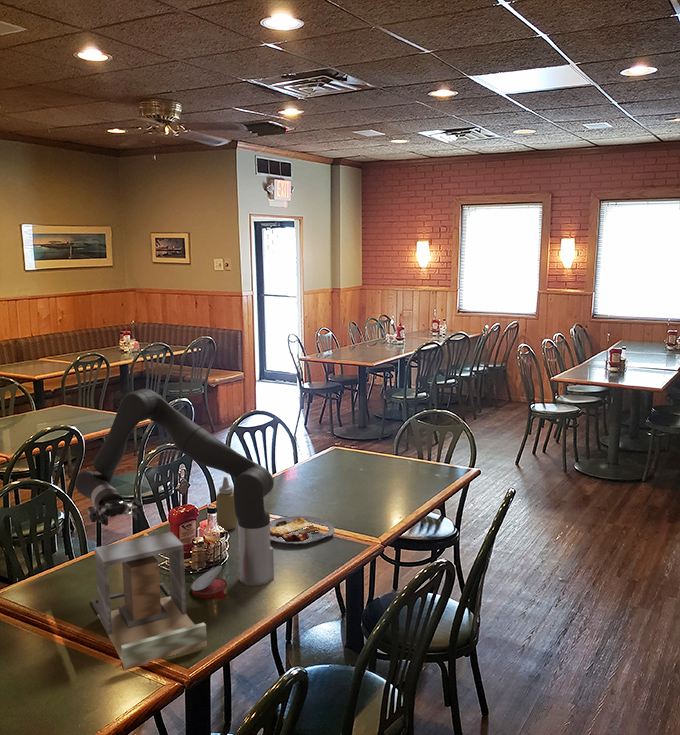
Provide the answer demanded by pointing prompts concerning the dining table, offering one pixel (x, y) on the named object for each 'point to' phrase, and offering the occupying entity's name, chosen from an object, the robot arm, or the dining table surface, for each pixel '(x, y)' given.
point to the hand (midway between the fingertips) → (122, 519)
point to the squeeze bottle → (226, 506)
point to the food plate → (296, 529)
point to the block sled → (141, 592)
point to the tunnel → (177, 627)
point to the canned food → (210, 585)
